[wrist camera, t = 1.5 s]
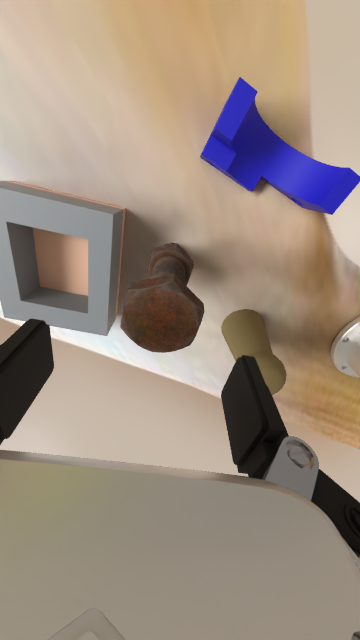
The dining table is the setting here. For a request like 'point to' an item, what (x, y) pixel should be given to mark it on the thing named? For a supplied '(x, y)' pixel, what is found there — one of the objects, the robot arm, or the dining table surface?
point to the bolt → (163, 303)
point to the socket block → (59, 258)
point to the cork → (254, 345)
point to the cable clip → (271, 157)
